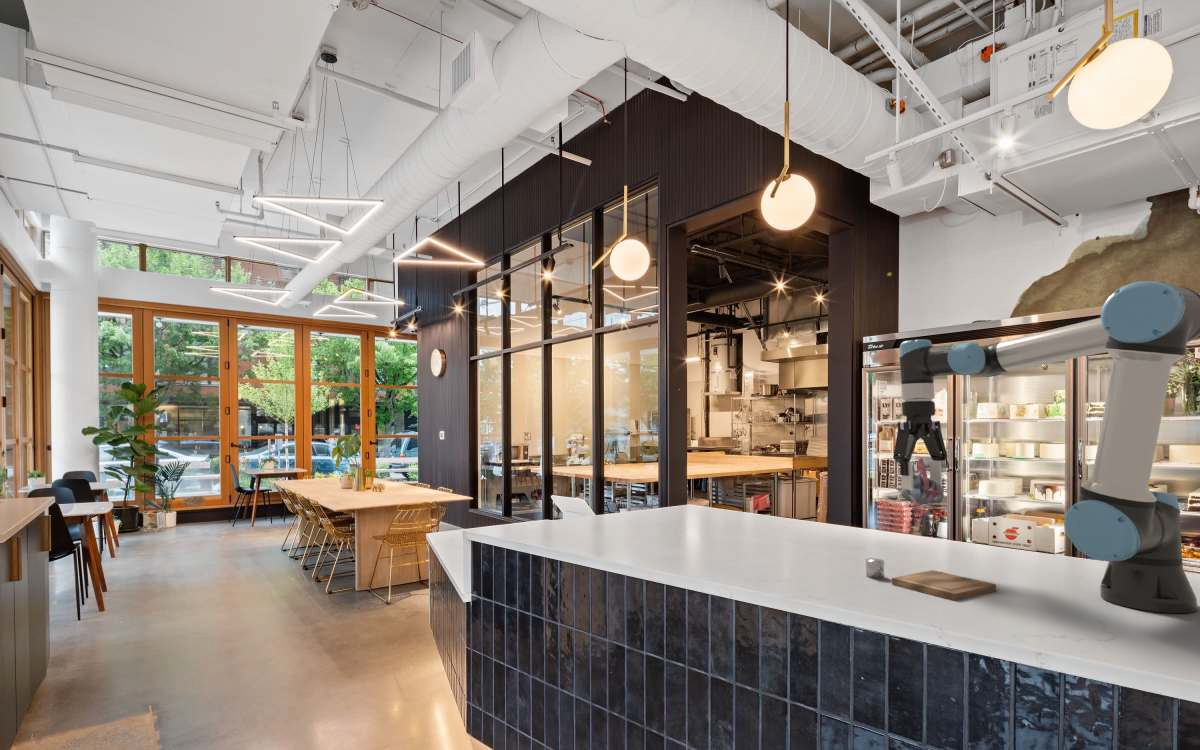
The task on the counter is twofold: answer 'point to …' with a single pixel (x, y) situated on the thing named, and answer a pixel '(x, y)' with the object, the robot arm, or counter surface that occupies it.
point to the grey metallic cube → (874, 568)
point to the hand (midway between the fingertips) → (922, 487)
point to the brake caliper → (922, 488)
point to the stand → (944, 584)
